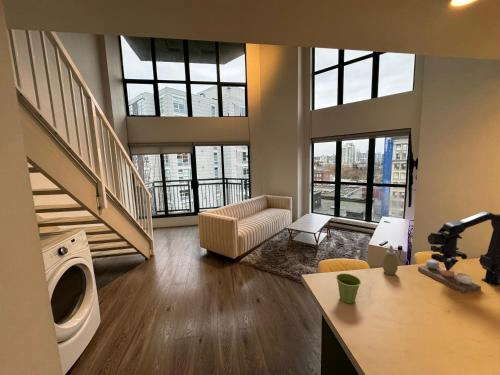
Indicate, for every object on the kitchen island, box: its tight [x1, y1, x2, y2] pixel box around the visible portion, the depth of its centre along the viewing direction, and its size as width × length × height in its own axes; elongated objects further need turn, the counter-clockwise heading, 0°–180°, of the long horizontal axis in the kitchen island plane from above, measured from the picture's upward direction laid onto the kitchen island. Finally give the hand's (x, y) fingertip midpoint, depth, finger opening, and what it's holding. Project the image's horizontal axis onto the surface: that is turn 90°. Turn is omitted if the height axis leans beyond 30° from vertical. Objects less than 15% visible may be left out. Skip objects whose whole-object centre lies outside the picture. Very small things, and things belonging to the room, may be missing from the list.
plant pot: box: [335, 272, 362, 305], centre depth 110 cm, size 12×12×11 cm
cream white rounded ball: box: [456, 272, 473, 285], centre depth 117 cm, size 6×6×6 cm
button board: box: [417, 265, 482, 294], centre depth 126 cm, size 12×25×2 cm, turn 11°
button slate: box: [425, 259, 440, 270], centre depth 134 cm, size 6×6×6 cm
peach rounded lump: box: [440, 267, 455, 278], centre depth 126 cm, size 6×6×6 cm
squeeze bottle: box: [382, 245, 399, 276], centre depth 134 cm, size 8×8×18 cm
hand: (447, 270), depth 125 cm, fingers closed, pressing on peach rounded lump
